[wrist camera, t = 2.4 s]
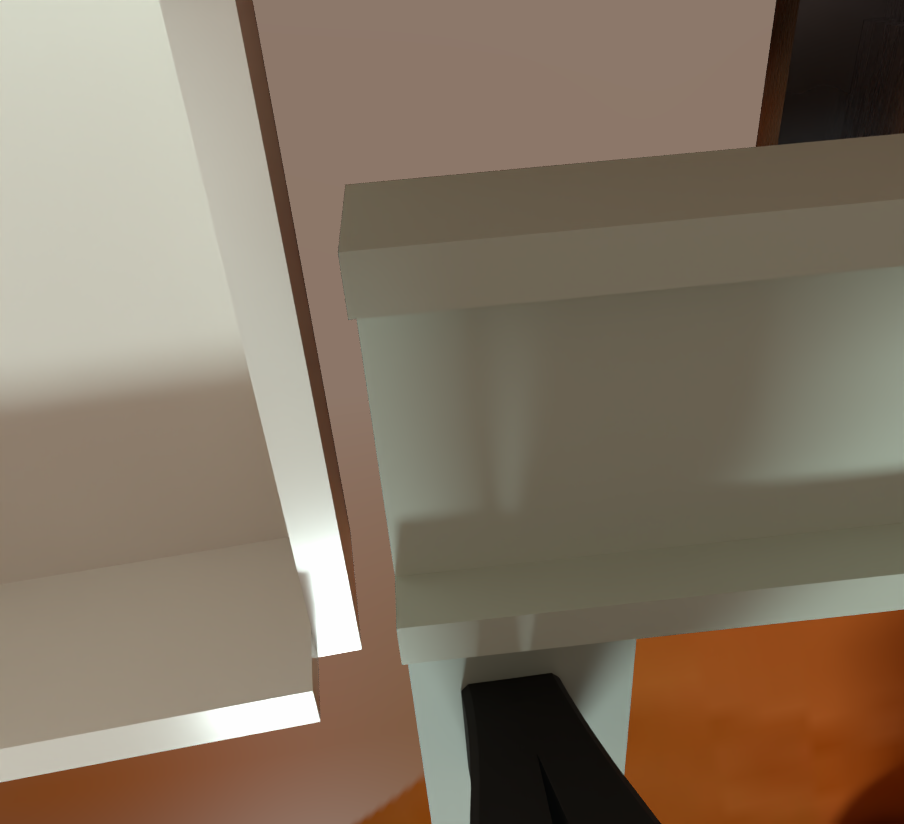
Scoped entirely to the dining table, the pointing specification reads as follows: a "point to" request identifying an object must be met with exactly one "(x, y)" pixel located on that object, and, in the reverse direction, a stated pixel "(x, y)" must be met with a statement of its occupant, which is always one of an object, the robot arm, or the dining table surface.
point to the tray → (155, 394)
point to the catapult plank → (628, 411)
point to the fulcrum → (833, 71)
